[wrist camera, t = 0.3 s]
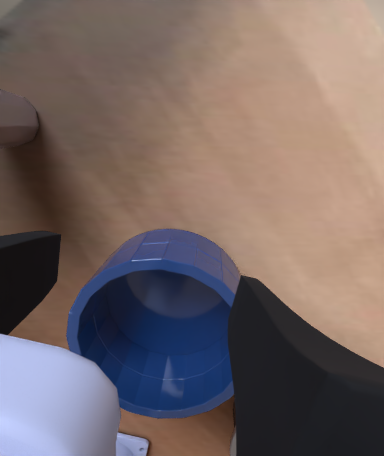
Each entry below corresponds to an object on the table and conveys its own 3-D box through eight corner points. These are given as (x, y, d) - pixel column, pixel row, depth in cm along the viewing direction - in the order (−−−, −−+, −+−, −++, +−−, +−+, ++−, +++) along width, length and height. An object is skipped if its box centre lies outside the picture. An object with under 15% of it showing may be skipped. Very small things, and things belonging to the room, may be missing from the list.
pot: (223, 371, 25) (227, 435, 19) (92, 340, 25) (59, 396, 19) (263, 248, 21) (280, 285, 16) (110, 212, 21) (76, 238, 16)
